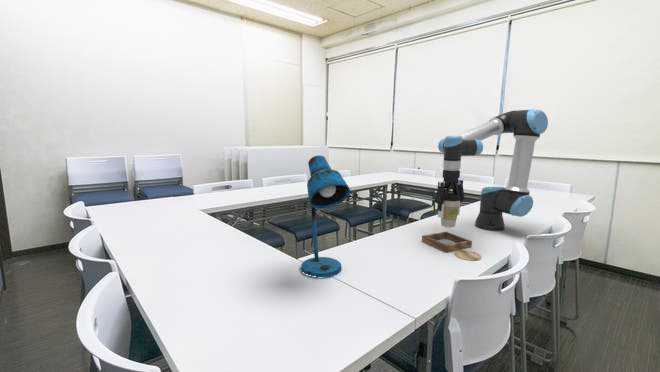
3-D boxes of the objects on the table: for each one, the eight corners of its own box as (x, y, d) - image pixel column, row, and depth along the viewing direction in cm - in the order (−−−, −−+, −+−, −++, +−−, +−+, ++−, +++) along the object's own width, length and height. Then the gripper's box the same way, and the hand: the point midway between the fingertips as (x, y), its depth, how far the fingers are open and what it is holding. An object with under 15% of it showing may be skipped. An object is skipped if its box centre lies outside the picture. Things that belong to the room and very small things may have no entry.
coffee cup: (460, 229, 148) (463, 197, 145) (438, 228, 150) (440, 196, 147) (457, 222, 157) (459, 193, 155) (436, 221, 159) (437, 192, 157)
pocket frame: (445, 236, 166) (446, 231, 165) (471, 247, 152) (471, 241, 151) (421, 241, 159) (422, 235, 158) (446, 252, 145) (446, 246, 144)
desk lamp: (315, 287, 113) (315, 159, 105) (294, 264, 132) (292, 154, 124) (355, 278, 119) (357, 158, 111) (329, 257, 139) (330, 153, 131)
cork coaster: (466, 249, 149) (466, 248, 149) (487, 257, 139) (487, 257, 139) (449, 253, 144) (449, 252, 144) (469, 262, 134) (469, 261, 134)
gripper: (462, 167, 157) (459, 211, 161) (427, 170, 147) (425, 217, 151) (475, 168, 150) (471, 214, 154) (439, 172, 140) (436, 221, 145)
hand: (448, 215), depth 153 cm, fingers closed on coffee cup, 10 cm apart
